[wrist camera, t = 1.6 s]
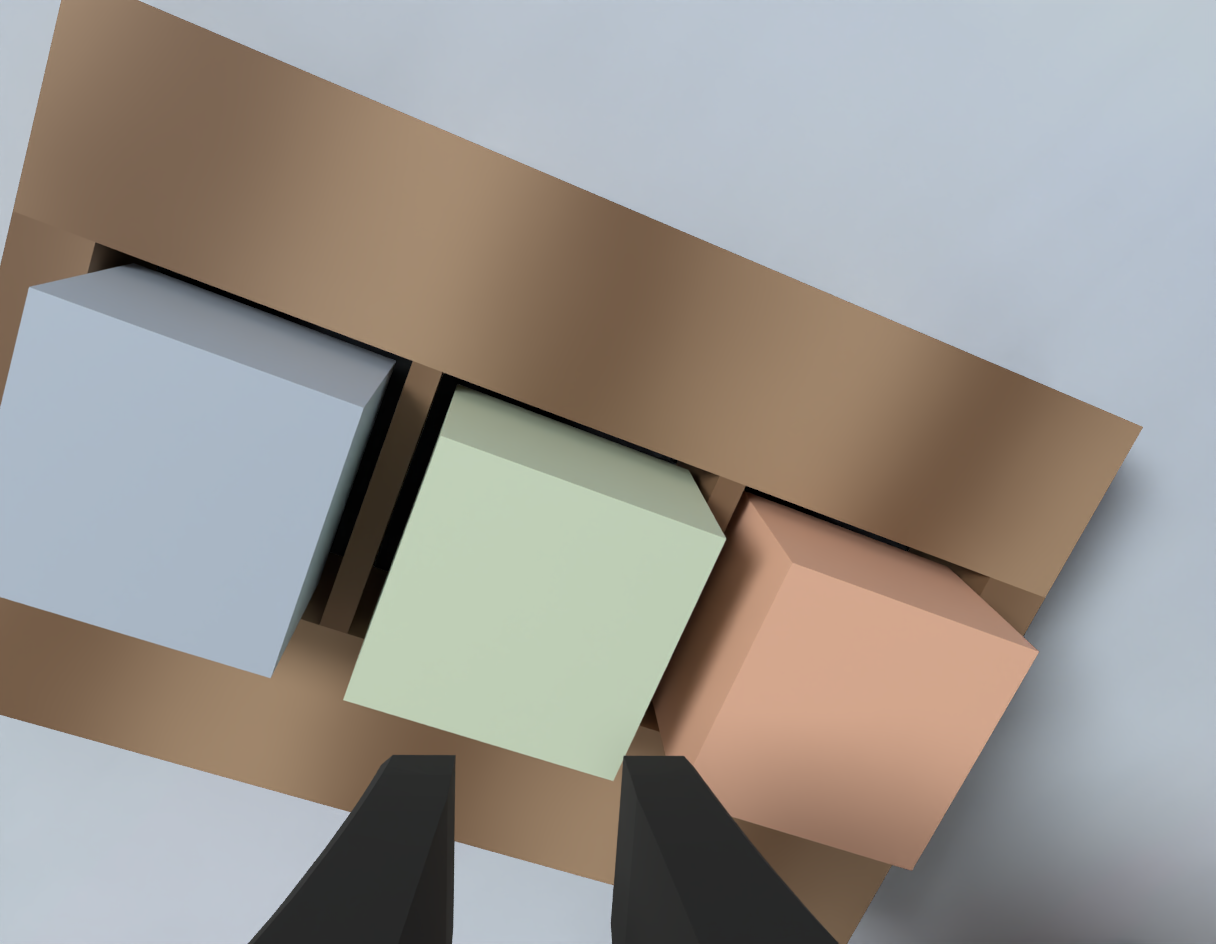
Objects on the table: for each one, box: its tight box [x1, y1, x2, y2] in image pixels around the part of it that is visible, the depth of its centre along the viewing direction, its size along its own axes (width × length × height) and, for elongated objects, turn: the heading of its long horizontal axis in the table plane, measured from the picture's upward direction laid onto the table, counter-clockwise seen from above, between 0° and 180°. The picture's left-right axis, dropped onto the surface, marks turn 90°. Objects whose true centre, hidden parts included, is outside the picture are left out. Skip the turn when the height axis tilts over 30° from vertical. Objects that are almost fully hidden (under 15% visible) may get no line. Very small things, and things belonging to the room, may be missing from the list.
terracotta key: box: [652, 491, 1039, 871], centre depth 17 cm, size 4×4×3 cm
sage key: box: [343, 384, 726, 781], centre depth 16 cm, size 4×4×3 cm
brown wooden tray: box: [0, 0, 1143, 944], centre depth 18 cm, size 18×12×3 cm, turn 68°
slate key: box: [0, 263, 396, 678], centre depth 15 cm, size 4×4×3 cm
